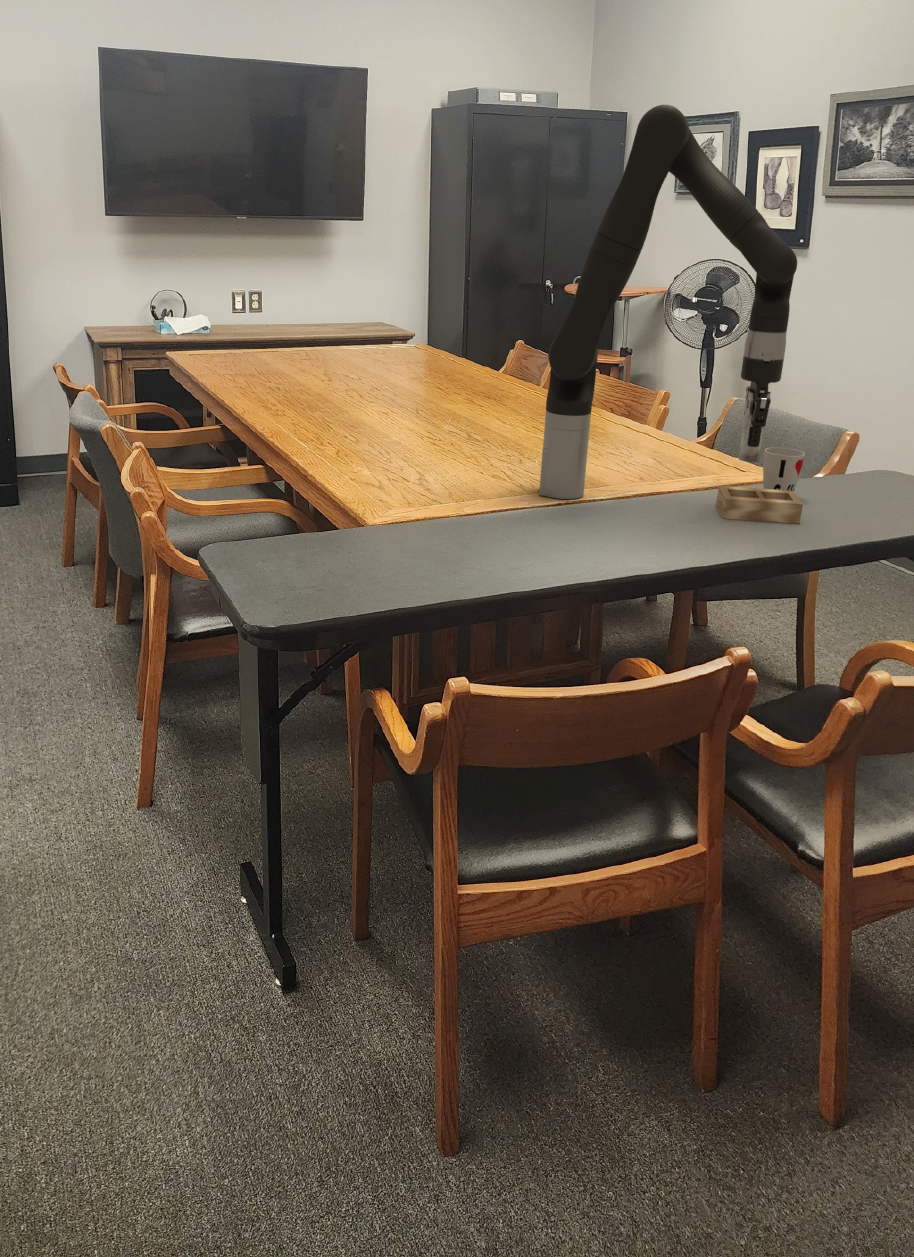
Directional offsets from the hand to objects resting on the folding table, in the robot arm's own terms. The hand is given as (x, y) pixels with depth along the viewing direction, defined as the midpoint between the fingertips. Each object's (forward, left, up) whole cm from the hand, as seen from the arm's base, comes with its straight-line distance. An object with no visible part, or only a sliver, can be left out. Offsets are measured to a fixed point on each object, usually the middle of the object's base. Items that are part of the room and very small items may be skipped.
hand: (751, 443), depth 208 cm
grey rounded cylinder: (0, 0, -3) cm, 3 cm away
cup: (+10, +14, -14) cm, 22 cm away
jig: (+3, 0, -14) cm, 15 cm away
